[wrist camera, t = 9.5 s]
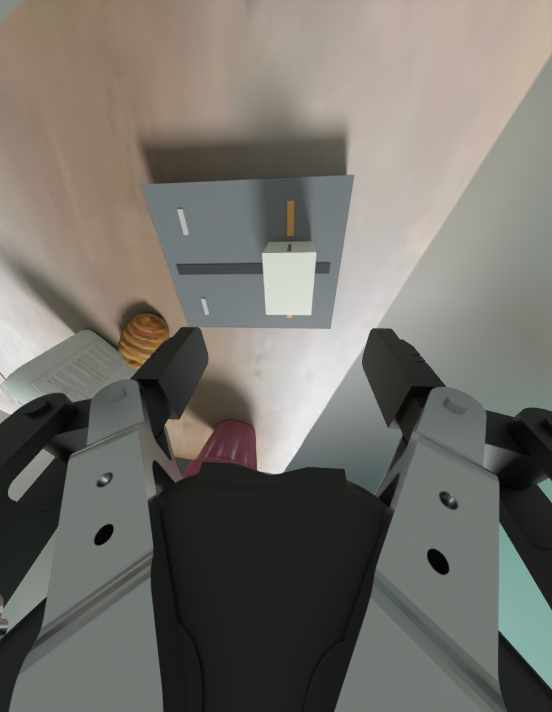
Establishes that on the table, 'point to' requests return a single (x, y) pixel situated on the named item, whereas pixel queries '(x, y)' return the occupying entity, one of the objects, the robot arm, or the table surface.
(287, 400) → the table surface
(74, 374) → the photo printer
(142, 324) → the pastry
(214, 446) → the plant pot
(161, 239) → the console
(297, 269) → the fader tab
